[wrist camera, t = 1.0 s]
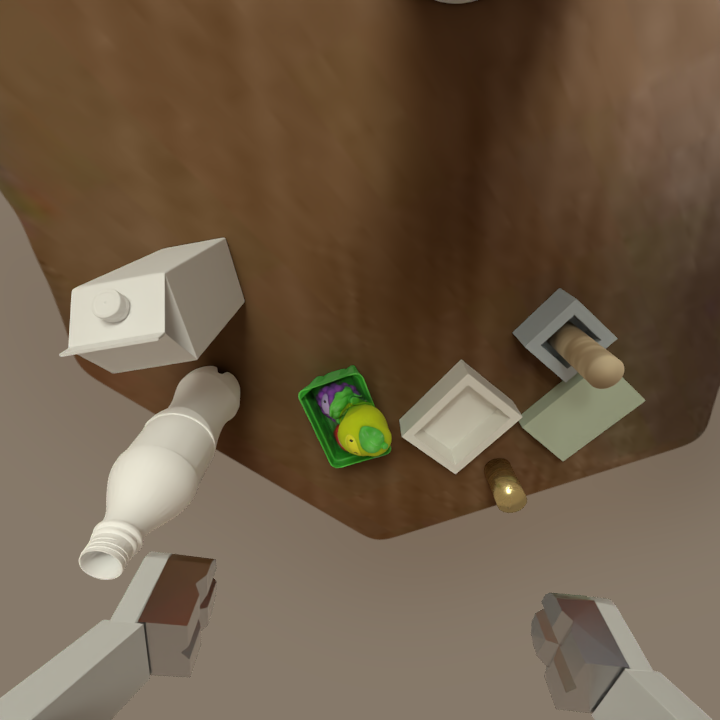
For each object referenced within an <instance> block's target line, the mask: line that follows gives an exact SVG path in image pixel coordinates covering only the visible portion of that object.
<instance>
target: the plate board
mask: <svg viewBox="0 0 720 720" xmlns="http://www.w3.org/2000/svg"><path fill="white" fill-rule="evenodd" d="M644 401H646V400H645V399H644V398H643V397H642V396H641V395H640V394H639V393H638V392H637V391H636V390H635V389H634V388H633V387H632V386H631V385H630V384H629V383H628V382H627V381H626V380H625V379H624V378H623V377H622V378H621V380H620V381H619V382H618V383H617V384H615V385H614V386H612V387H609V388H606V389H598V388H595V387H593V386H591V385H590V384H589V383H588V382H587V381H586V380H585V379H584V378H583V377H582V376H581V375H580V374H579V373H577V374H575V375H574V376H573V377H572V378H571V379H569V380H568V381H567V382H564V381H562V382H560V383H559V384H558V385H557V386H555V387H554V388H553V389H552V390H551V391H549V392H548V393H547V394H546V395H544V396H543V397H542V398H541V399H540V400H538V401H537V402H536V403H535V404H533V405H532V406H531V407H530V408H529V409H527V410H526V411H525V412H524V413H522V414H521V415H522V418H521V419H520V420H519V423H520V425H521V426H522V428H523V429H525V430H526V431H527V432H528V433H529V434H531V435H532V436H533V437H534V438H535V439H537V440H538V441H539V442H540V443H541V444H543V445H544V446H545V447H546V448H547V449H549V450H550V451H551V452H552V453H553V454H555V455H556V456H557V457H558V458H559V459H561V460H562V461H564V460H566V459H567V458H568V457H570V456H571V455H573V454H574V453H575V452H577V451H578V450H579V449H581V448H582V447H583V446H585V445H586V444H587V443H589V442H590V441H592V440H593V439H594V438H596V437H597V436H598V435H600V434H601V433H602V432H604V431H605V430H606V429H608V428H609V427H611V426H612V425H613V424H615V423H616V422H617V421H619V420H620V419H621V418H623V417H624V416H625V415H627V414H628V413H630V412H631V411H632V410H634V409H635V408H636V407H638V406H639V405H640V404H642V403H643V402H644Z"/></svg>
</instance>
